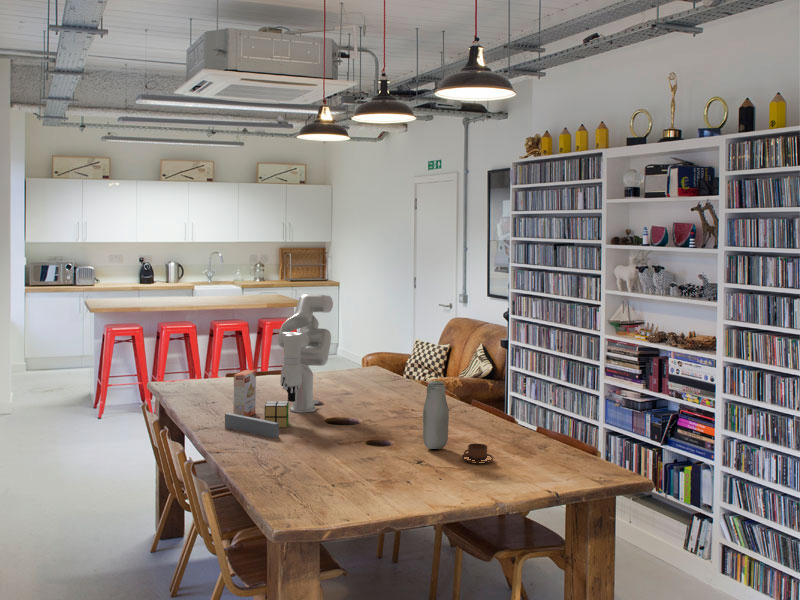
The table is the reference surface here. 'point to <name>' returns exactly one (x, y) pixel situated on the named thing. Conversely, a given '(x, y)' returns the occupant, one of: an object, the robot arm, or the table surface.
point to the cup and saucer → (476, 453)
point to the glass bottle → (435, 416)
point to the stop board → (252, 425)
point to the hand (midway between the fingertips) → (291, 401)
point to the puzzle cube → (277, 412)
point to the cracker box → (245, 393)
